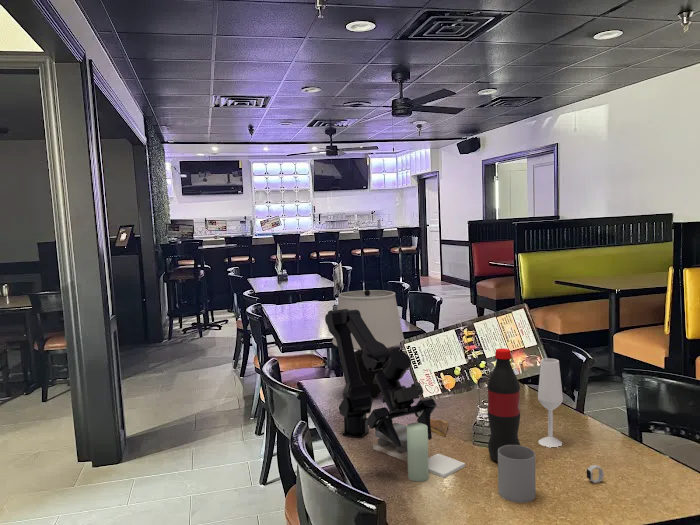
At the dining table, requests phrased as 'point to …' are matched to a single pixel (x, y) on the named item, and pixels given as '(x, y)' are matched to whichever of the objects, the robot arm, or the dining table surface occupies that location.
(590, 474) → the smartwatch
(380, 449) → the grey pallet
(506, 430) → the cola bottle
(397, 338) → the table lamp
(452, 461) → the pad
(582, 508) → the dining table surface
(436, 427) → the shard
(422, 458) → the roller
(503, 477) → the cup
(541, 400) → the champagne flute
